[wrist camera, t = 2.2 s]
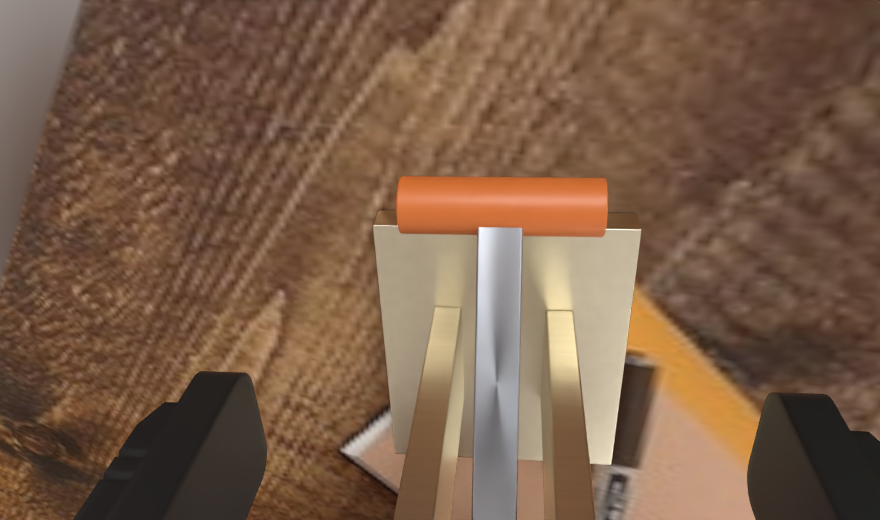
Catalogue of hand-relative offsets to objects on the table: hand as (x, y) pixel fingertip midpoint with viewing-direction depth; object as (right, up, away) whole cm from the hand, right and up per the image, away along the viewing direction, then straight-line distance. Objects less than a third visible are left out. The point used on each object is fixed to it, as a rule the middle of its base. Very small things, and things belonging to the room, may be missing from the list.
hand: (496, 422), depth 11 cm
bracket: (+2, 0, +16) cm, 16 cm away
